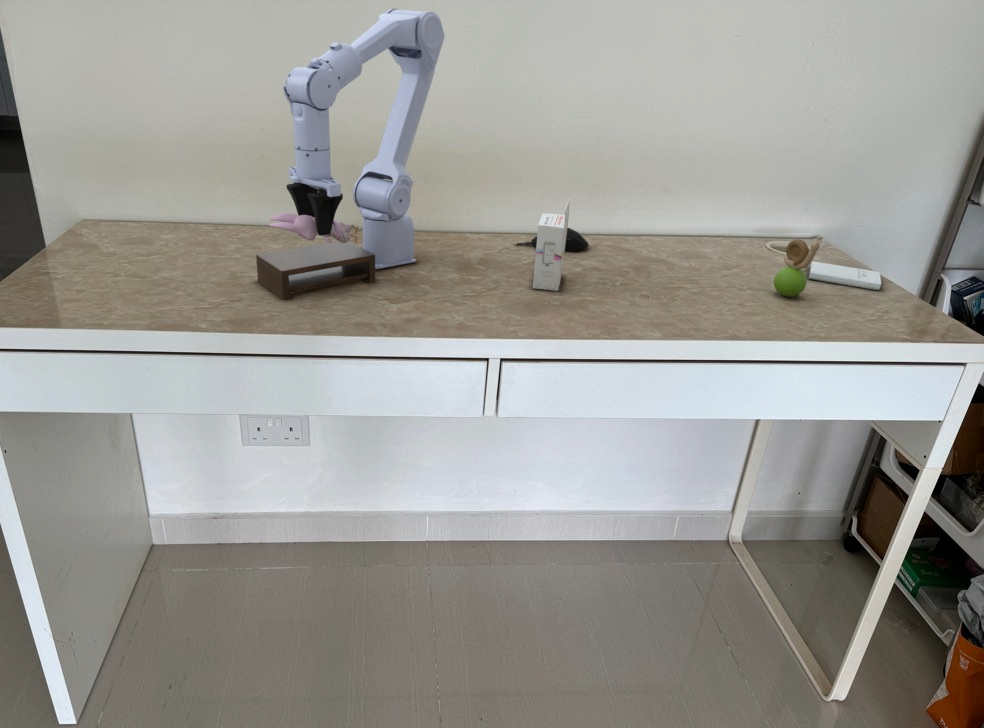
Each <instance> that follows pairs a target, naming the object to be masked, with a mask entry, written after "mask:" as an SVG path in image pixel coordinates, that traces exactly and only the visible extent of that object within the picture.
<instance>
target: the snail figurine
mask: <svg viewBox="0 0 984 728" xmlns="http://www.w3.org/2000/svg"><path fill="white" fill-rule="evenodd" d="M823 238H824V237H823V236H817V237H816V240H817V241H814V242H812V243H811V245H810V250H809V246H808V244H807V243H806V241H804V240H803V239H799V238H795V239H792V240H790V242H789V243H788V244H787V245H786V248H785V252H786V253H785V254H786V257H783V261H784V263H785V267H783V268H781V269H779V271H777V273H776V274H775V276H774V279H773V286H774V289H775V291H776V292H777V293H778V294H779V295H780V296H783V297H787V298H792V297H796V296H798V295H800V294H801V293H802V292H804V290H805V288H806V286H807V283H808V280H807V275H806V273H805V272H804V271H803V269H806V268H808V266H809V265H811V262H812V261H814V258H815V256H816V254H817V252H818V251H819V249H820V246H821V241H822V240H824V239H823Z"/></svg>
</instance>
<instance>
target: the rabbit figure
mask: <svg viewBox="0 0 984 728" xmlns="http://www.w3.org/2000/svg"><path fill="white" fill-rule="evenodd" d="M269 220H270V221H273V223H269V224H268V226H269V227H274V228H279V229H283V230H285V231H287V232H291V233H294V234H297V235H298V236H299V237H301V238H303V239H305V240H308V241H314V240H315V239H316V237H317V235H318V233H317V229H316V222H315V218H314V217H312V216H308V215H300V216H298V215H296V214H295V213H291V212H280V213H277V214H274V215H273V216H271V217H270V218H269ZM274 221H275V222H274ZM352 229H354V230H355V234H356V236H355V235H354V234H353V233H350V232H351V230H352ZM358 231H359V225H357V226H355V225H354V224H346V223H344V222H342V221H335V220H333V225H332V229H331V233H330V234H328V235H322V237H323V239H324V240H325V241H327V243H332V242H333V241H332V239H331V238H333V239H335V241H337V242H338V241H339V242H342V243H346V242H348V241H349V242H350V239H351V238H354V239H355V241H354V244H357V243H358V239H359V237H358V236H359V235H358Z"/></svg>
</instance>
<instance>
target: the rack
mask: <svg viewBox="0 0 984 728" xmlns="http://www.w3.org/2000/svg"><path fill="white" fill-rule="evenodd" d="M255 259H256V272H257V283H259V284H260V285H262V286H263V287H265V288H266V289H267V290H269V291H270V292H271V293H273V294H274V295H276V296H277V297H278V298H280V299H281V300H283V301H284V300H285V301H286V300H289V299H291V293H297V292H301V291H308V290H313V289H318V288H323V287H327V286H333V285H337V284H343V283H349V282H354V281H358V280H363V281H366V282H368V283H369V284H370V283H375V282H376V269H375V254H373V253H371V252H369V251H367V250H365V249H363V247H362V246H359V245H357V244H356V243H353V242H351V241H350V240H349V241H348V242H346V243H342V242H339V241H338V240H337V241H332V243H329V242H325V243H319V244H313V245H308V246H302V247H296V248H289V249H282V250H276V251H270V252H264V253H258V254H255Z"/></svg>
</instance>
